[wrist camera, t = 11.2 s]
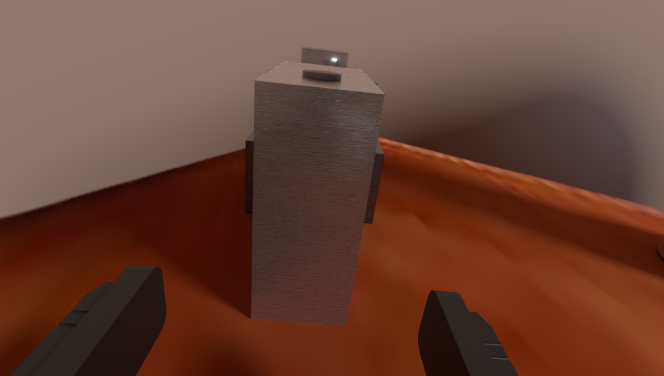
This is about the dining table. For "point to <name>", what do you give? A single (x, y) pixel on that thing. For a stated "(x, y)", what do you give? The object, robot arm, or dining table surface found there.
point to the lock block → (310, 189)
